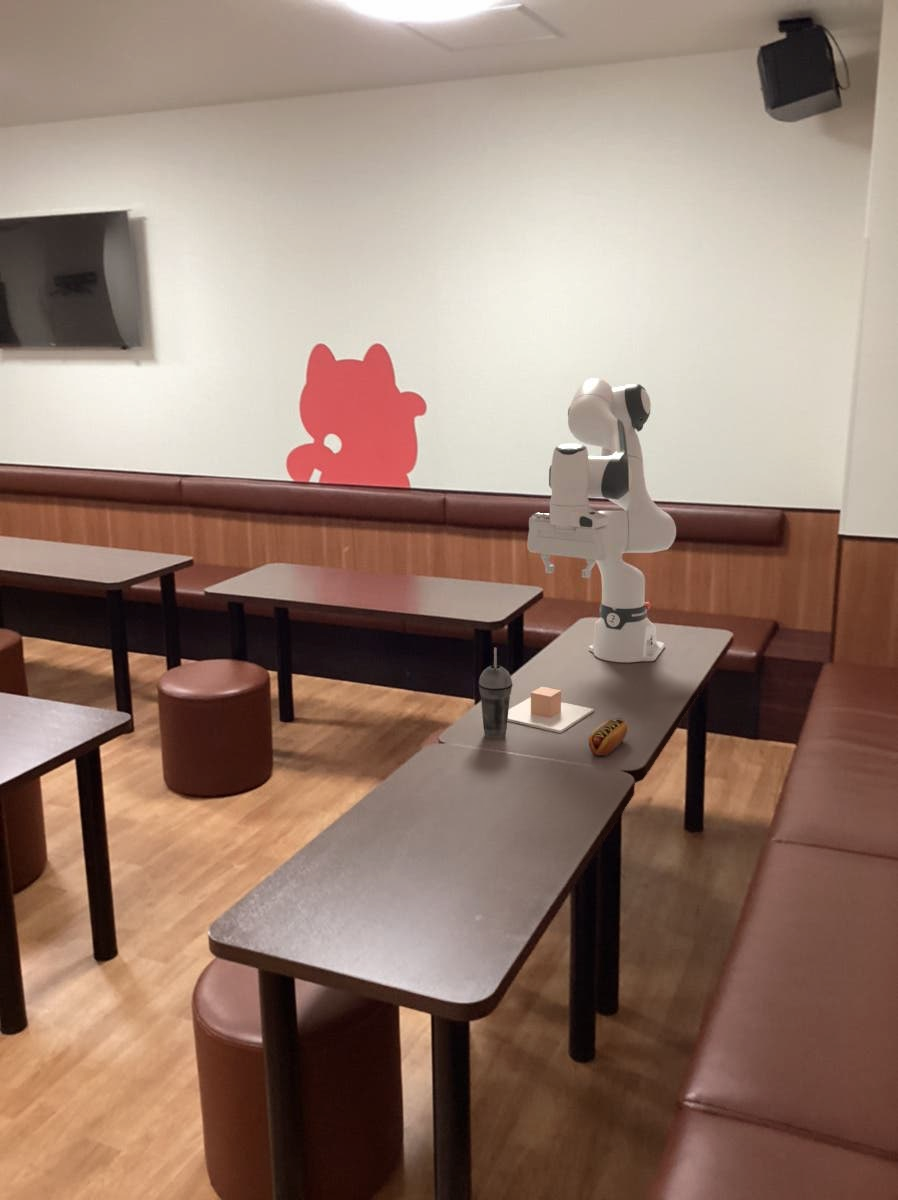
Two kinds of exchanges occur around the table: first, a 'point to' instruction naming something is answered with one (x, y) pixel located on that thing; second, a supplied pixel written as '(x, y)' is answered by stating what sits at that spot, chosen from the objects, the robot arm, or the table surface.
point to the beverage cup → (495, 699)
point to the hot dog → (607, 736)
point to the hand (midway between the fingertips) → (567, 575)
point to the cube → (546, 702)
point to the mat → (556, 723)
